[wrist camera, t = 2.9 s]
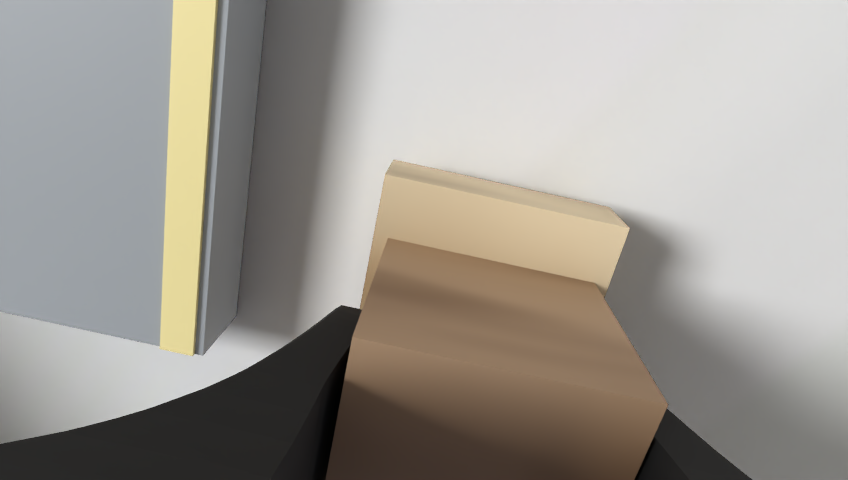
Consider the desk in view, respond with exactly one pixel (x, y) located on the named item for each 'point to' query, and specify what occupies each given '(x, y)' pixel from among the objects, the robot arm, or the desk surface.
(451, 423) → the tan cardboard carton
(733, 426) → the desk surface
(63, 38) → the dock
